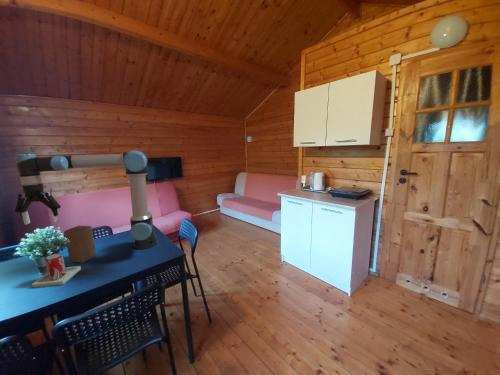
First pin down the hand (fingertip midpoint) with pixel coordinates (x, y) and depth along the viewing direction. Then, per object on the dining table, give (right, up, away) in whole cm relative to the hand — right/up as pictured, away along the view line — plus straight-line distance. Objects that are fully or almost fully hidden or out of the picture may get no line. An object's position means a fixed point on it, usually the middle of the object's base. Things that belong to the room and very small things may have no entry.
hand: (41, 222), depth 115 cm
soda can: (+10, -29, -1) cm, 31 cm away
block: (+8, -25, +18) cm, 33 cm away
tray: (+10, -29, -1) cm, 31 cm away
